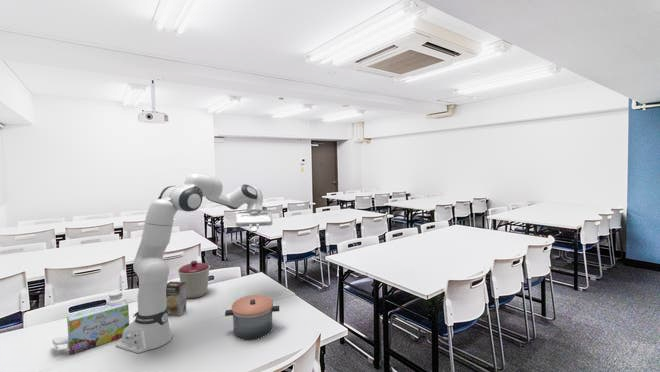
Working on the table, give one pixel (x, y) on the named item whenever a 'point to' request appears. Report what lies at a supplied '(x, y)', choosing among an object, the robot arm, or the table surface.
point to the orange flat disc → (252, 305)
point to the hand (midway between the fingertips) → (254, 231)
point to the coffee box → (176, 298)
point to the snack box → (97, 326)
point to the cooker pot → (252, 324)
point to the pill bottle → (115, 298)
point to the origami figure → (61, 342)
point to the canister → (195, 278)
